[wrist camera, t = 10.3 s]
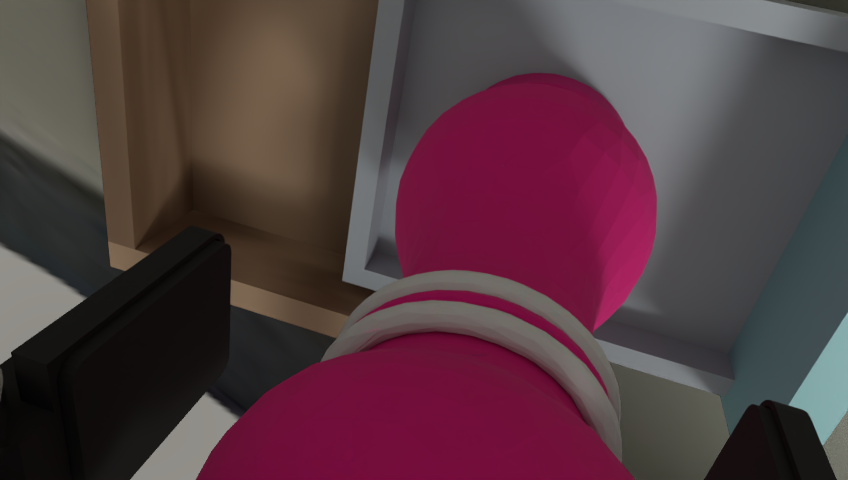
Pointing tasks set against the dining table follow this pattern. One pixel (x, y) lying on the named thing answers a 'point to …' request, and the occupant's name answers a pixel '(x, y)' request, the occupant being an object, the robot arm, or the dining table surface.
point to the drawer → (663, 171)
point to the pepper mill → (479, 309)
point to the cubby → (237, 139)
